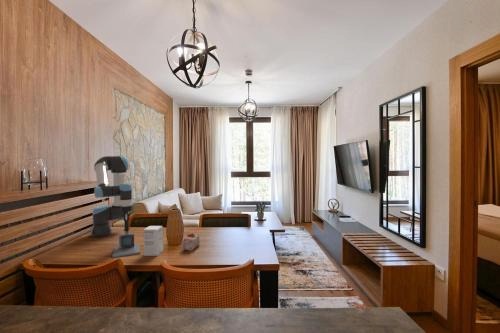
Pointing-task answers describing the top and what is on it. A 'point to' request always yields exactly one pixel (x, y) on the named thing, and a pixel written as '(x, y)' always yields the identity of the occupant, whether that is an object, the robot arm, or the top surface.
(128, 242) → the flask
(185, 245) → the food item
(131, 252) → the slate board
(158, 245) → the supplement box
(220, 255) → the top surface
